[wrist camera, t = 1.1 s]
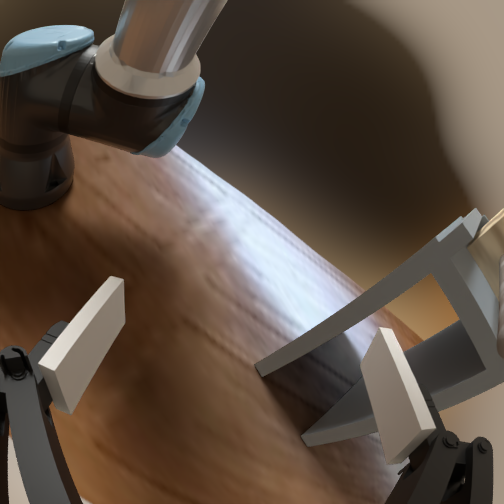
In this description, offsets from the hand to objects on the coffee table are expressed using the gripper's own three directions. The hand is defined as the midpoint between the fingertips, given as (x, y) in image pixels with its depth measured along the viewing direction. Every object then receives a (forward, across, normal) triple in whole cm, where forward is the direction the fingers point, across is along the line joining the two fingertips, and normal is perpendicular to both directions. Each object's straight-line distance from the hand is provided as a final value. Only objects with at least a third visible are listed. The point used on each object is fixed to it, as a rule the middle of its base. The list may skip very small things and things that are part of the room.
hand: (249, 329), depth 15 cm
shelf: (+21, +15, -23) cm, 34 cm away
